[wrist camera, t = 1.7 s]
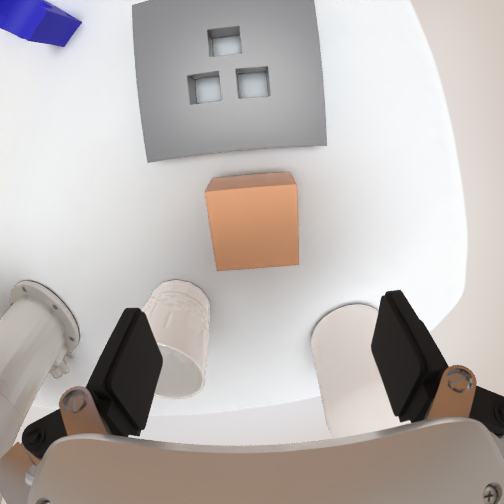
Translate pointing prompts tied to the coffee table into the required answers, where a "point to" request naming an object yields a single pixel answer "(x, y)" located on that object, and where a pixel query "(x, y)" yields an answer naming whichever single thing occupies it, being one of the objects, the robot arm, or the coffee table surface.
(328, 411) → the wine bottle
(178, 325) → the white cup
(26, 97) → the coffee table surface
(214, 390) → the coffee table surface
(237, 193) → the tan block
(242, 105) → the flat gray square plate
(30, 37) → the cable clip
